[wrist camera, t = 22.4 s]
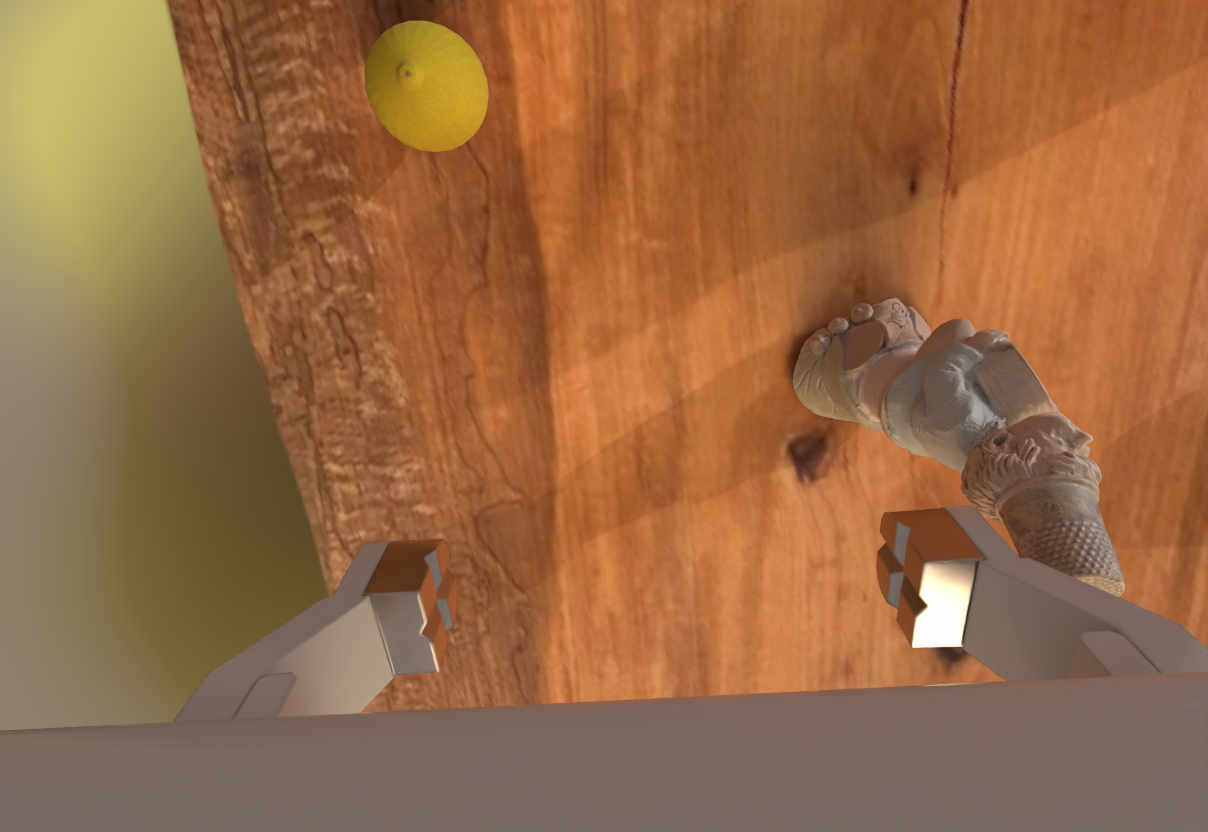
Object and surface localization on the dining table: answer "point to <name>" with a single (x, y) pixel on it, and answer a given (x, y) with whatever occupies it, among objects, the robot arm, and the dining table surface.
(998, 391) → the figurine
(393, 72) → the lemon
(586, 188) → the dining table surface
